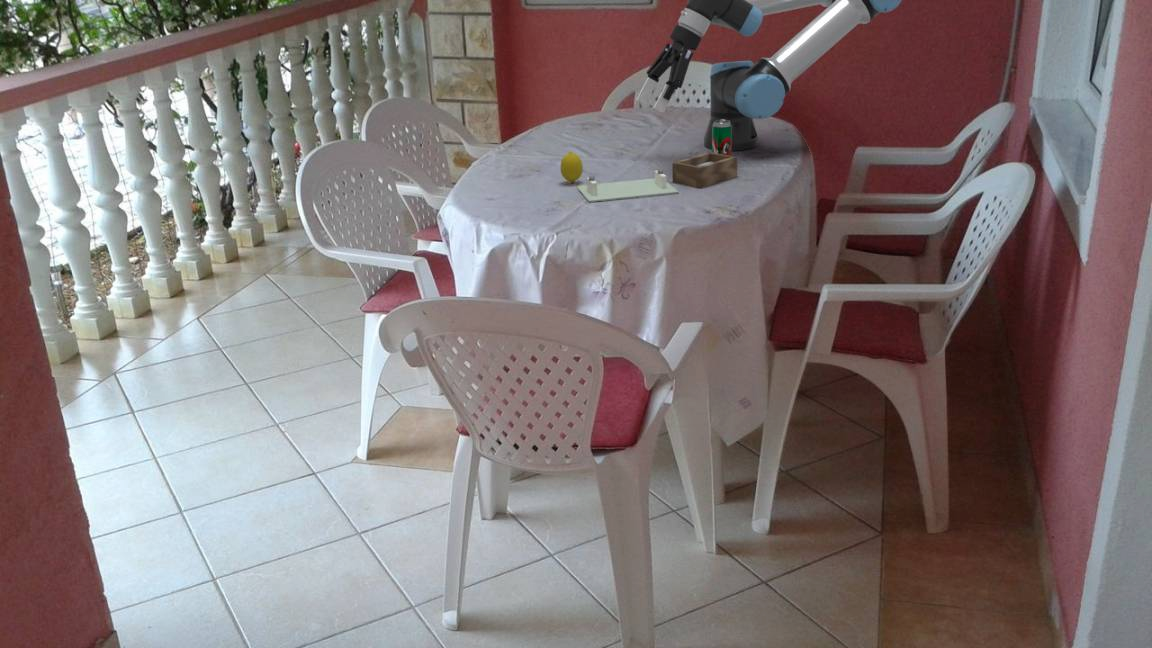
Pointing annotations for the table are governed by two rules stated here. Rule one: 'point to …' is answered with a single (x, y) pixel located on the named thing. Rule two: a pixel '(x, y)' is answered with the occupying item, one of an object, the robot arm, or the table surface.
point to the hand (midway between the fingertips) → (649, 106)
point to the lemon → (571, 167)
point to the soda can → (722, 137)
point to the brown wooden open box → (704, 170)
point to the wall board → (627, 188)
